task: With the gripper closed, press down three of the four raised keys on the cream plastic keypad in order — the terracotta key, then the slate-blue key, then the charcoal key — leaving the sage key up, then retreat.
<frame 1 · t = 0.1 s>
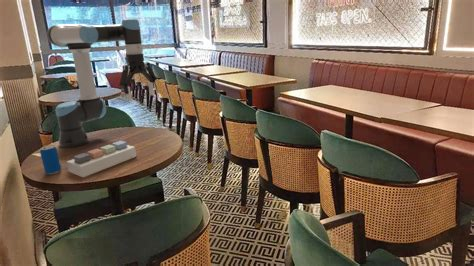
hand: (141, 97, 162), 28 cm above the table, fingers open, 13 cm apart
slate key: (119, 145, 163), point 6 cm above the table, slide at 0.0 cm
terracotta key: (95, 154, 153), point 6 cm above the table, slide at 0.0 cm
charcoal key: (82, 158, 148), point 6 cm above the table, slide at 0.0 cm
beverage can: (53, 172, 150), on the table
sage key: (108, 149, 158), point 6 cm above the table, slide at 0.0 cm
keypad: (104, 163, 157), on the table
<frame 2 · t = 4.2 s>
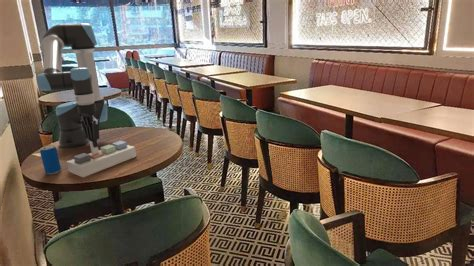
hand: (95, 153, 152), 6 cm above the table, fingers closed
terracotta key: (96, 156, 153), point 5 cm above the table, slide at 1.4 cm, touching gripper
everything else where it was.
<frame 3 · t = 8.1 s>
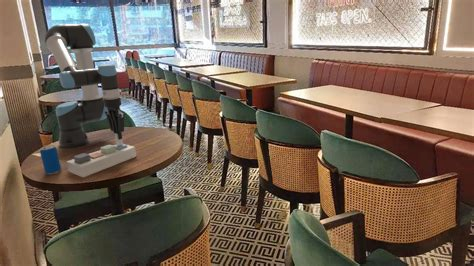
hand: (119, 145, 162), 6 cm above the table, fingers closed
slate key: (120, 148, 163), point 5 cm above the table, slide at 1.5 cm, touching gripper
terracotta key: (96, 157, 153), point 4 cm above the table, slide at 1.9 cm
everything else where it was.
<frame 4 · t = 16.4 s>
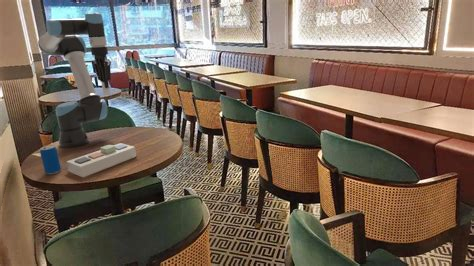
hand: (106, 94, 168), 29 cm above the table, fingers closed
slate key: (120, 149, 163), point 4 cm above the table, slide at 1.9 cm
charcoal key: (83, 162, 148), point 4 cm above the table, slide at 1.9 cm
everything else where it was.
at the end: terracotta key slide at 1.9 cm; slate key slide at 1.9 cm; charcoal key slide at 1.9 cm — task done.
